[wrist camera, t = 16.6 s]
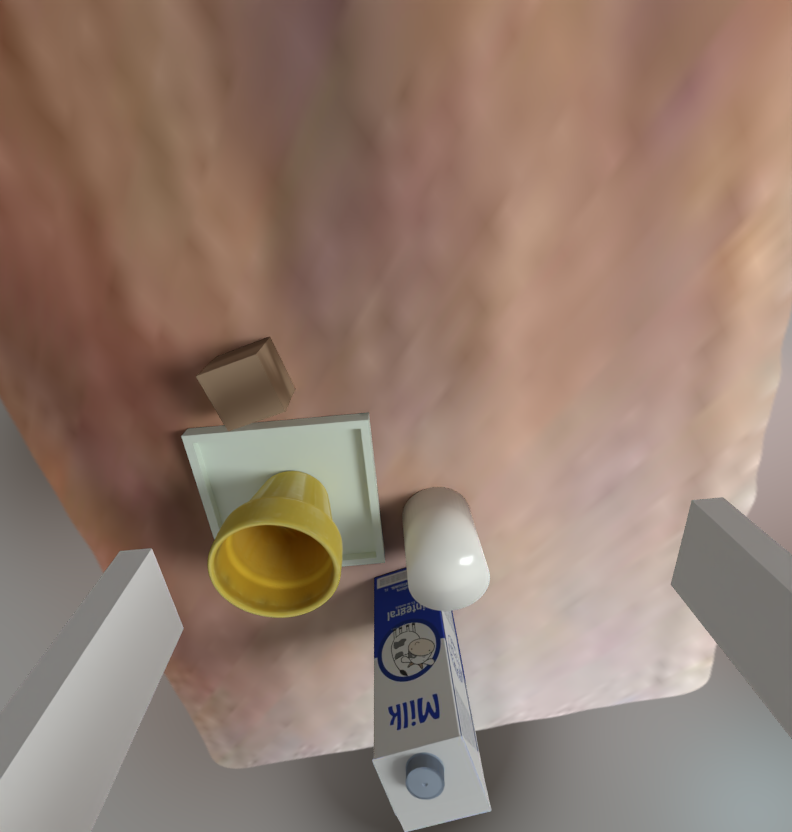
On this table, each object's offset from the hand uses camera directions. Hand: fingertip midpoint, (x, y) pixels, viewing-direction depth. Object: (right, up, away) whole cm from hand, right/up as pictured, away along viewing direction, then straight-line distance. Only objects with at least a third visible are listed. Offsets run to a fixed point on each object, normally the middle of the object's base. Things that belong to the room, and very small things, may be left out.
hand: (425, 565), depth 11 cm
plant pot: (-11, -4, +33) cm, 35 cm away
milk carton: (+1, -16, +39) cm, 42 cm away
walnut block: (-13, +8, +28) cm, 31 cm away
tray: (-11, -4, +33) cm, 35 cm away
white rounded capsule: (+3, -6, +35) cm, 36 cm away
